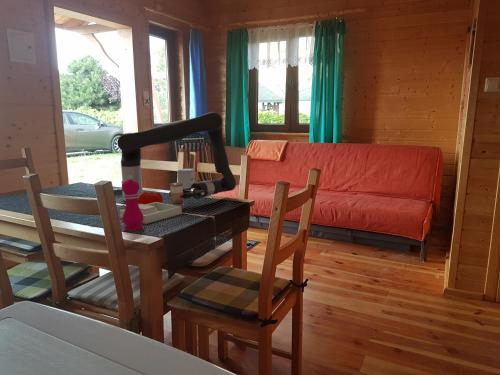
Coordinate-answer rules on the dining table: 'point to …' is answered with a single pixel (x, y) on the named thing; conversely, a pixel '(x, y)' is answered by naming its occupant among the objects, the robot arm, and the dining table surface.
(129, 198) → the pepper mill
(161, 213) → the tote
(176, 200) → the clear lidded jar
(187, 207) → the dining table surface
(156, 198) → the tomato
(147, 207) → the off-white tapered piece
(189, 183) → the supplement box
